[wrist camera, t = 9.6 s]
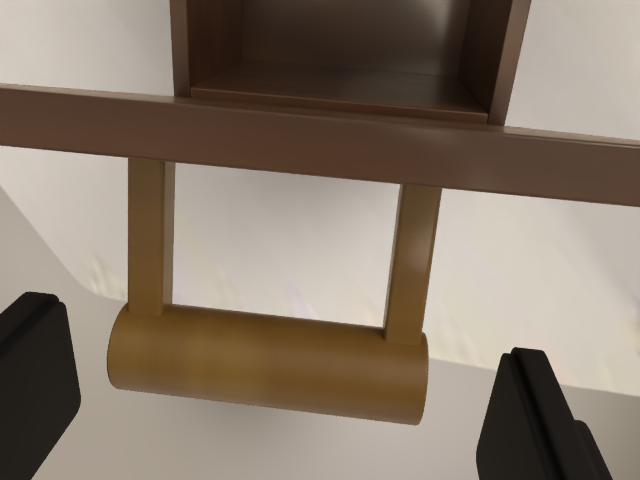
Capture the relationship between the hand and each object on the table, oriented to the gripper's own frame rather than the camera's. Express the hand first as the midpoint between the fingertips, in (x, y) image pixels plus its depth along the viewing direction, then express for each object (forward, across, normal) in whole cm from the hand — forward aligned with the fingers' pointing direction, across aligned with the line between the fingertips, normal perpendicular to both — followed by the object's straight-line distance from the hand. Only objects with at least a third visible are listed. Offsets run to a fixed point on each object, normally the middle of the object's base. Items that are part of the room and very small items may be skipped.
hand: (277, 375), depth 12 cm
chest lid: (+7, 0, -4) cm, 8 cm away
